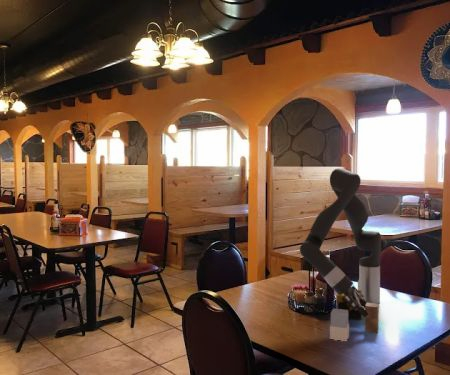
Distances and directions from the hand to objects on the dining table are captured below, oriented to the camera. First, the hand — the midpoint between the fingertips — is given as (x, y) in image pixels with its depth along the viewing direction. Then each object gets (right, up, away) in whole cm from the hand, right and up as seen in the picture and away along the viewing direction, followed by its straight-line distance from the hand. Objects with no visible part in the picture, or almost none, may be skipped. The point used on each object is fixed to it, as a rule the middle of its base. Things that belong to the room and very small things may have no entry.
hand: (367, 312), depth 169 cm
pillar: (+1, -7, 0) cm, 7 cm away
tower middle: (-13, -2, -7) cm, 15 cm away
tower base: (-13, -7, -7) cm, 17 cm away
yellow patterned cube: (-2, -6, +17) cm, 18 cm away
